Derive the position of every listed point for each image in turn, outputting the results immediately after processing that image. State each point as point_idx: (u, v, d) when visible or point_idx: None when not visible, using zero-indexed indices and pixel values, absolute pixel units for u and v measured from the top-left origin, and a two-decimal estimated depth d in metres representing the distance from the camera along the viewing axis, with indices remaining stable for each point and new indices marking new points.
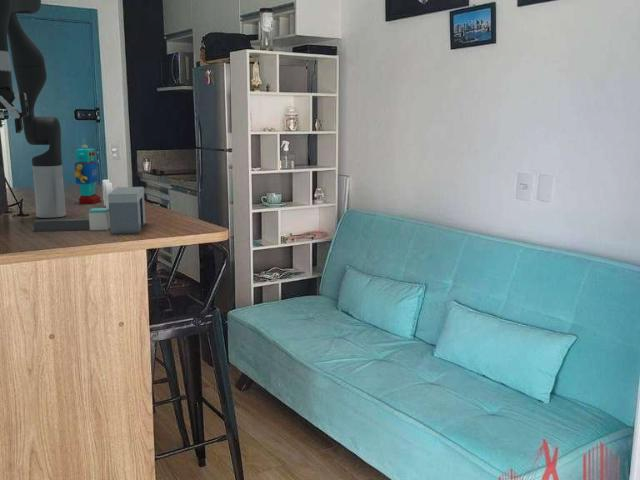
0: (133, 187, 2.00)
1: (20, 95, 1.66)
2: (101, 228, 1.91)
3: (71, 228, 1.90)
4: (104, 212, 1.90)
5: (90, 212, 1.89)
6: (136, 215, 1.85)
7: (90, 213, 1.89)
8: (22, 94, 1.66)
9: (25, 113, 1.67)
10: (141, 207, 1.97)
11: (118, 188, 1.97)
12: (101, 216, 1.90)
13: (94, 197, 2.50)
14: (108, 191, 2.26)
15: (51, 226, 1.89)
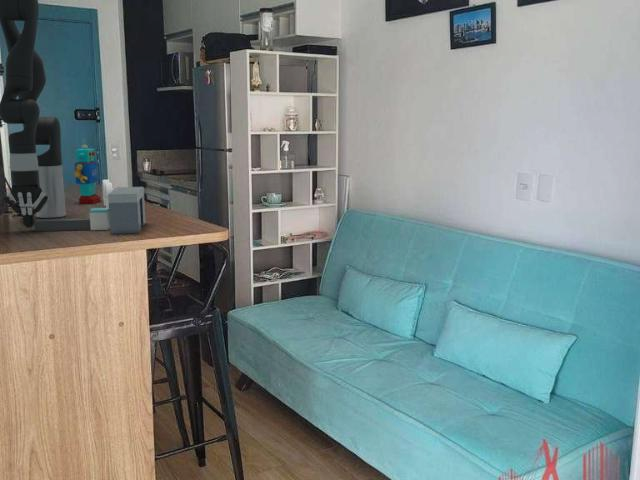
0: (133, 187, 2.00)
1: (44, 197, 1.87)
2: (102, 228, 1.91)
3: (72, 228, 1.90)
4: (105, 212, 1.90)
5: (91, 212, 1.89)
6: (136, 215, 1.85)
7: (91, 213, 1.89)
8: (46, 198, 1.88)
9: (37, 210, 1.88)
10: (141, 207, 1.97)
11: (118, 188, 1.97)
12: (102, 216, 1.90)
13: (94, 197, 2.50)
14: (108, 191, 2.26)
15: (52, 226, 1.89)
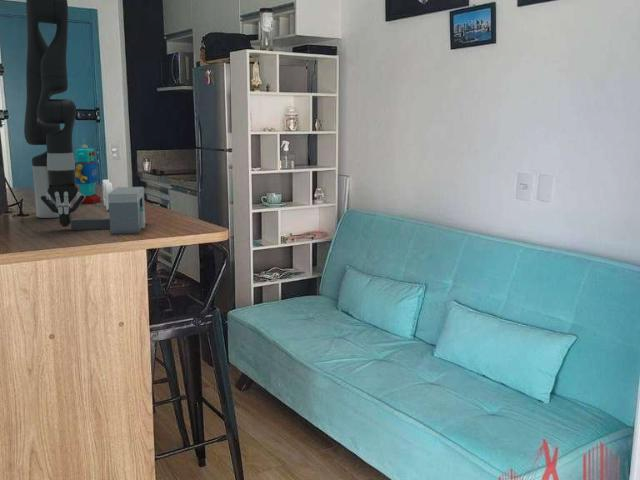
0: (133, 187, 2.00)
1: (81, 197, 1.89)
2: None
3: (108, 227, 1.92)
4: (141, 211, 1.93)
5: None
6: (136, 215, 1.85)
7: None
8: (83, 197, 1.89)
9: (73, 210, 1.89)
10: None
11: (118, 188, 1.97)
12: None
13: (94, 197, 2.50)
14: (108, 191, 2.26)
15: (89, 225, 1.91)
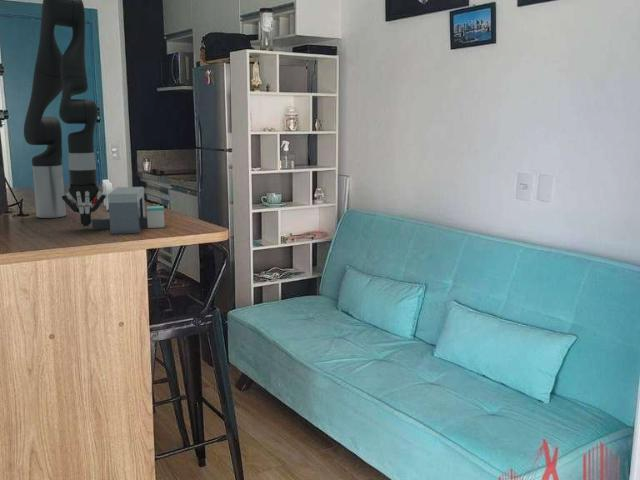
0: (133, 187, 2.00)
1: (102, 196, 1.90)
2: (158, 225, 1.95)
3: None
4: (162, 210, 1.94)
5: (148, 210, 1.93)
6: (136, 215, 1.85)
7: (148, 211, 1.93)
8: (103, 197, 1.90)
9: (94, 209, 1.90)
10: (141, 207, 1.97)
11: (118, 188, 1.97)
12: (159, 214, 1.94)
13: None
14: (108, 191, 2.26)
15: (109, 224, 1.92)
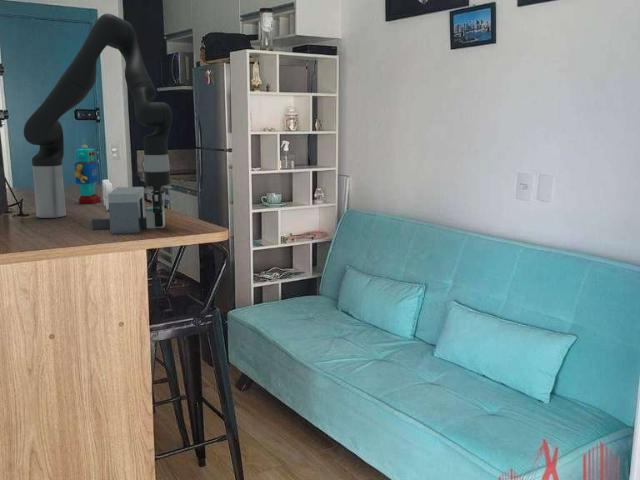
0: (133, 187, 2.00)
1: None
2: None
3: None
4: None
5: (147, 210, 1.93)
6: (136, 215, 1.85)
7: (147, 211, 1.93)
8: (152, 196, 1.88)
9: (153, 211, 1.90)
10: (141, 207, 1.97)
11: (118, 188, 1.97)
12: None
13: (94, 197, 2.50)
14: (108, 191, 2.26)
15: (109, 224, 1.92)
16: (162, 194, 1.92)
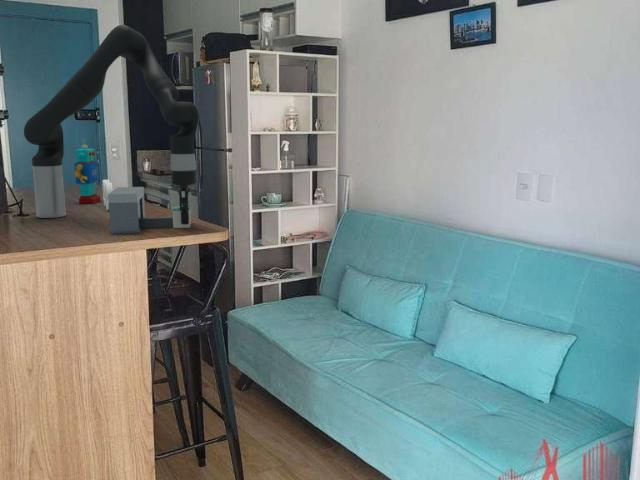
0: (133, 187, 2.00)
1: None
2: (184, 226, 1.95)
3: (155, 226, 1.94)
4: None
5: (174, 210, 1.93)
6: (136, 215, 1.85)
7: (174, 211, 1.93)
8: (179, 192, 1.88)
9: (179, 208, 1.89)
10: (141, 207, 1.97)
11: (118, 188, 1.97)
12: None
13: (94, 197, 2.50)
14: (108, 191, 2.26)
15: None
16: (188, 192, 1.93)
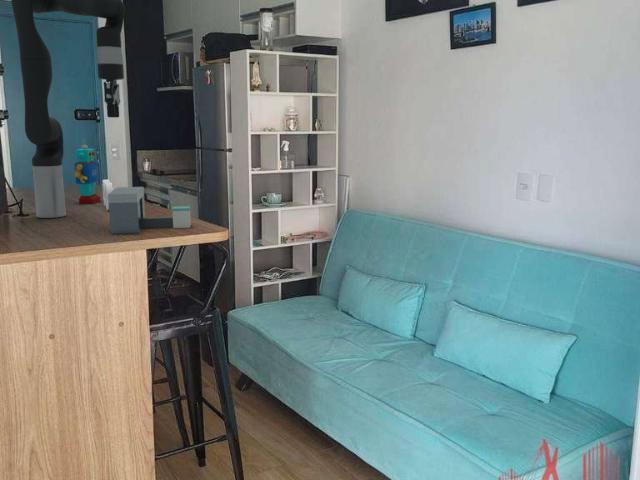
0: (133, 187, 2.00)
1: None
2: (184, 226, 1.95)
3: (155, 226, 1.94)
4: (187, 210, 1.94)
5: (174, 210, 1.93)
6: (136, 215, 1.85)
7: (174, 211, 1.93)
8: None
9: (104, 100, 1.89)
10: (141, 207, 1.97)
11: (118, 188, 1.97)
12: (184, 214, 1.94)
13: (94, 197, 2.50)
14: (108, 191, 2.26)
15: None
16: (115, 87, 1.94)
